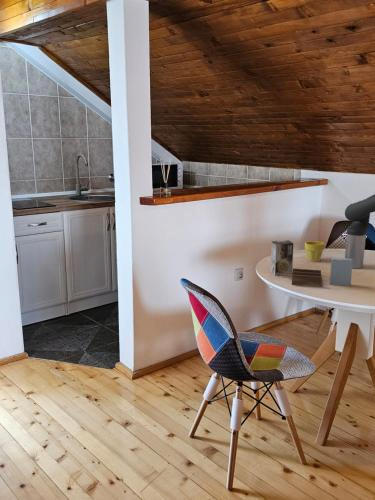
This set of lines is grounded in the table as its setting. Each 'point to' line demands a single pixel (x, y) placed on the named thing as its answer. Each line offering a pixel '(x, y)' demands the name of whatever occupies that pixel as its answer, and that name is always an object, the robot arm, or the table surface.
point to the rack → (306, 277)
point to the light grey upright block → (341, 271)
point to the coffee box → (282, 258)
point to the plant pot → (314, 250)
